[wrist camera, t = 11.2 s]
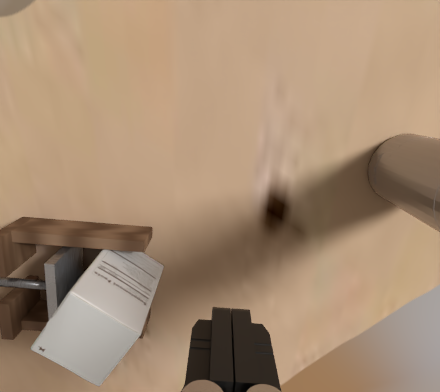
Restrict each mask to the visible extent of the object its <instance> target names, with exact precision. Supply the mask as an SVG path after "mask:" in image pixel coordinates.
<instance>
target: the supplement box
mask: <svg viewBox="0 0 440 392" xmlns="http://www.w3.org/2000/svg"><path fill="white" fill-rule="evenodd" d="M163 268H164V266H163V265H162V264H160V263H158V262H157V261H155V260H154V259H152V258H151V257H149V256H148V255H146V254H144V253H143V252H132V251H119V250H107V249H103V250H102V251H101V252H100V253H99V255H98V256H97V257H96V258H95V260H94V261H93V262H92V263H91V265H90V266H89V267H88V268H87V270H86V271H85V272H84V273H83V275H82V276H81V277H80V278H79V280H78V281H77V282H76V283H75V285H74V286H73V287H72V288H71V290H70V291H69V293H68V294H67V295H66V297H65V298H64V300H63V301H62V303H61V304H60V306H59V307H58V309H57V310H56V311H55V313H54V314H53V316H52V317H51V319H50V320H49V321H48V323H47V324H46V326H45V327H44V329H43V330H42V332H41V333H40V335H39V336H38V338H37V339H36V340H35V342H34V343H33V345H32V346H31V350H33V351H34V352H36V353H38V354H40V355H42V356H44V357H46V358H48V359H50V360H52V361H53V362H55V363H57V364H59V365H61V366H63V367H64V368H66V369H68V370H70V371H71V372H73V373H75V374H76V375H78V376H80V377H82V378H83V379H85V380H87V381H89V382H91V383H93V384H95V385H97V386H100V385H101V384H102V383H103V381H104V380H105V379H106V378H107V376H108V375H109V374H110V373H111V371H112V370H113V369H114V368H115V367H116V365H117V364H118V363H119V362H120V360H121V359H122V358H123V357H124V355H125V354H126V353H127V352H128V350H129V349H130V348H131V347H132V345H133V344H134V343H135V341H136V340H137V339H138V338H139V336H140V335H141V333H142V330H143V327H144V324H145V321H146V318H147V315H148V312H149V309H150V306H151V303H152V300H153V297H154V295H155V292H156V289H157V286H158V283H159V280H160V277H161V274H162V271H163Z"/></svg>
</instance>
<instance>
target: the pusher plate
mask: <svg viewBox="0 0 440 392" xmlns="http://www.w3.org/2000/svg"><path fill="white" fill-rule="evenodd" d="M44 268H45V280H33V279H20V278H7V277H6V278H4V277H0V286H2V287H15V288H29V289H42V290H46V293H47V305H48V317H49V320H50V319H51V317H52V316H53V314H54V313H55V311H56V310H57V309H58V307H59V306H60V304H61V303H62V301H63V300H64V298H65V297H66V295H67V294H68V293H69V291H70V290H71V288H72V287H73V286H74V285H75V283H76V282H77V281H78V280H79V278H80V277H81V276H82V275H83V273H84V269H83V248H81V247H68V246H63V247H62V248H61V249H60V250H59V251H57V252H56V253H55V254H54V255H53V256H52V257H51V258H50V259H49V260H48V261H47V262H45V263H44Z"/></svg>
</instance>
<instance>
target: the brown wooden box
mask: <svg viewBox="0 0 440 392" xmlns="http://www.w3.org/2000/svg"><path fill="white" fill-rule="evenodd" d="M151 238H152V227H143V226H131V225H118V224H105V223H93V222H80V221H68V220H55V219H43V218H30V217H22V218H20V219H18V220H17V221H15V222H13V223H11V224H10V225H8V226H6V227H4V228H3V229H1V230H0V277H4V278H6V277H7V276H8V275H10V274H11V273H12V272H13V271H14V270H16V269H17V268H18V267H19V266H21V265H22V264H23V263H24V262H25V261H27V260H28V259H29V258H30V257H32V256H33V255H34V254H35V253H36V244H43V245H56V246H68V247H81V248H94V249H107V250H119V251H132V252H145V250H146V248H147V246H148V244H149V242H150V240H151ZM25 279H33V280H39V277H38V276H28V277H27V278H25ZM149 318H150V309H149V312H148V315H147V318H146V321H145V324H144V327H143V330H142V333H141V335H140V336H139V338H143V336H144V333H145V330H146V327H147V324H148V321H149ZM48 321H49V317H48V305H47V300H42V299H40V289H29V288H14V289H13V290H12V291H11V292H10V293H9V294H8V295H7V296H6V297H4V298H3V299H2V300H1V301H0V328H1V335H2V339H11V340H13V339H14V338H15V337H16V336H17V335H18V334H19V332H20V331H21V330H34V331H42V330H43V329H44V327H45V326H46V324H47V323H48Z"/></svg>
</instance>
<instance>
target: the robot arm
mask: <svg viewBox="0 0 440 392" xmlns="http://www.w3.org/2000/svg"><path fill="white" fill-rule="evenodd" d="M368 177H369V181H370V184H371V186H372V188H373V189H374V191H375V192H376V193H377V194H378V195H379V196H381V197H383V198H384V199H386V200H388V201H389V202H391V203H393V204H394V205H396V206H397V207H399V208H400V209H402V210H404V211H405V212H407V213H409V214H410V215H412V216H414V217H415V218H417V219H419V220H420V221H422V222H424V223H425V224H427V225H429V226H430V227H432V228H434V229H435V230H437V231H439V232H440V139H437V138H432V137H426V136H420V135H414V134H402V135H398V136H395V137H392V138H390V139H389V140H387V141H385V142H384V143H383V144H382V145H380V146H379V148H378V149H377V150H376V151H375V153H374V154H373V156H372V158H371V161H370V164H369V169H368ZM181 392H281V388H280V384H279V379H278V374H277V369H276V364H275V359H274V355H273V349H272V346H271V339H270V334H269V332H268V331H267V330H266V328H265V327H264V326H263V324H254V323H251V315H250V310H244V309H230V308H217V307H213V309H212V320H200V319H199V320H198V321H197V322H196V324H195V325H194V326H193V328H192V334H191V342H190V349H189V357H188V364H187V372H186V380H185V385H184V387H183V389H182V391H181Z"/></svg>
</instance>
